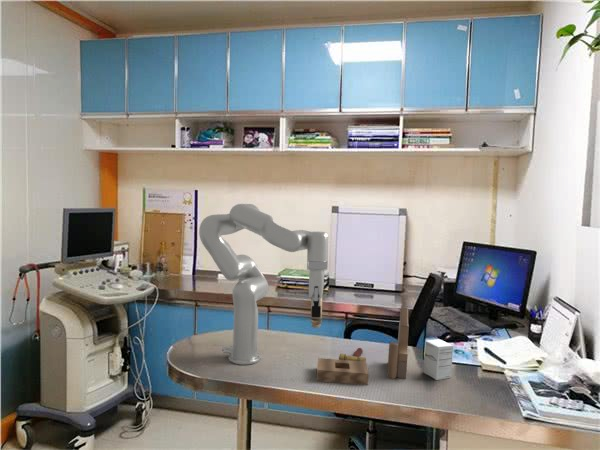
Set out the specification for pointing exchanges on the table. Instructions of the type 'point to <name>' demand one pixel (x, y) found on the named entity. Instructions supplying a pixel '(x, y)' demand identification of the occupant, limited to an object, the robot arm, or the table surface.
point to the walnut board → (342, 371)
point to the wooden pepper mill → (316, 320)
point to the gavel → (353, 356)
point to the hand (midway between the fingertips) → (316, 314)
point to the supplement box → (438, 359)
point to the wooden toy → (399, 349)
